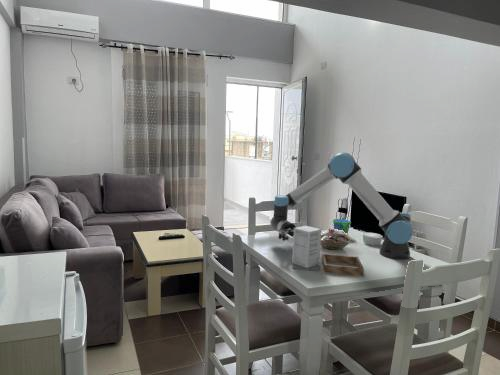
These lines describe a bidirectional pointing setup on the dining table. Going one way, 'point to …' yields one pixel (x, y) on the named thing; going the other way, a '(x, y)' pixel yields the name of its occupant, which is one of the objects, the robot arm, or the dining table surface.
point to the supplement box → (306, 246)
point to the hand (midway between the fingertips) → (305, 240)
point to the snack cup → (342, 224)
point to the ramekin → (372, 238)
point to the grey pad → (295, 266)
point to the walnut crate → (342, 269)
